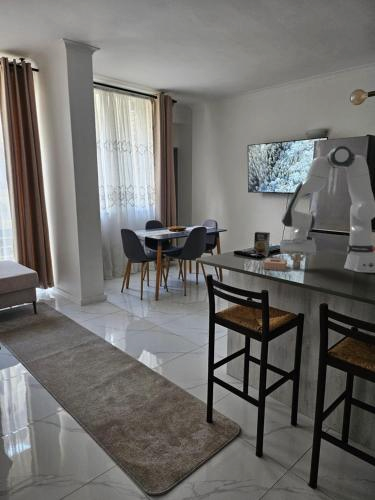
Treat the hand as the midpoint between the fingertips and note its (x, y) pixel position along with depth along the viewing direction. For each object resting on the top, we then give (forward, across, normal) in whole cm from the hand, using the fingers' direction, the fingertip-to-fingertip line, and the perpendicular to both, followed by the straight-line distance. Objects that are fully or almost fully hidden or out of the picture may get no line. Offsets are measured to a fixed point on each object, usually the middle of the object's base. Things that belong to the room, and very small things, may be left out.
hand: (296, 259), depth 198 cm
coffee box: (-18, -25, +26) cm, 40 cm away
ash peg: (+3, 0, +4) cm, 5 cm away
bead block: (+4, -12, +4) cm, 13 cm away
